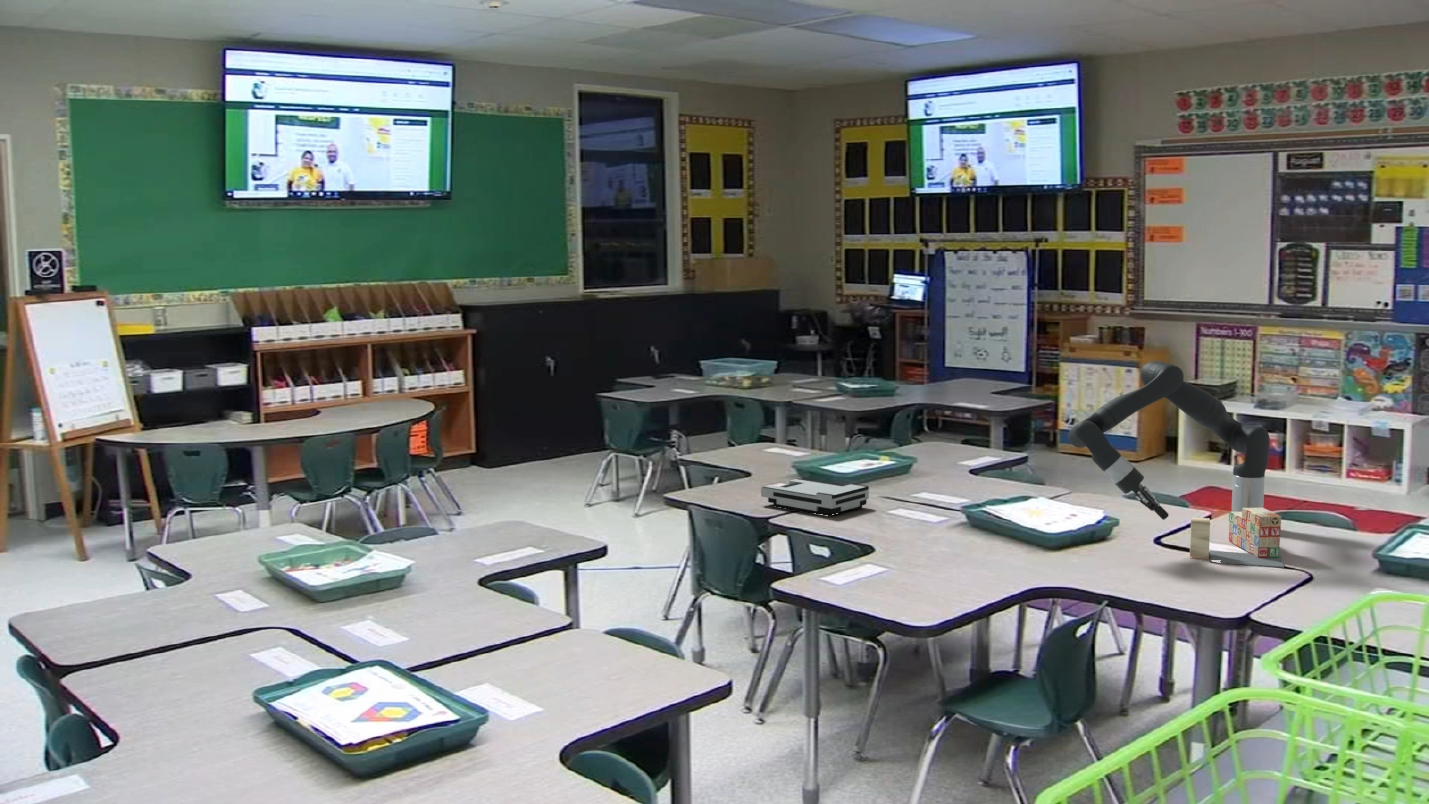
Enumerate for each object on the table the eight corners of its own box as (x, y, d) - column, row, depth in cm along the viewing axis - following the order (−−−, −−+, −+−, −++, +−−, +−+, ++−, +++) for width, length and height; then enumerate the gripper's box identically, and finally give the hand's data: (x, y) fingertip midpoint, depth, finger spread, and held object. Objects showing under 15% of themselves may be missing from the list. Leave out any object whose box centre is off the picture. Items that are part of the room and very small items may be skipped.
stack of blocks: (1227, 541, 369) (1229, 501, 368) (1248, 541, 369) (1250, 501, 368) (1258, 557, 348) (1259, 515, 346) (1279, 557, 348) (1281, 515, 346)
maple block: (1189, 553, 355) (1191, 517, 354) (1208, 555, 353) (1209, 518, 352) (1190, 558, 351) (1191, 521, 349) (1208, 559, 349) (1210, 522, 347)
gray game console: (798, 497, 446) (798, 475, 445) (868, 509, 424) (868, 486, 423) (761, 506, 431) (761, 483, 430) (832, 519, 409) (831, 495, 408)
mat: (1209, 551, 357) (1209, 550, 357) (1280, 556, 350) (1280, 555, 350) (1211, 562, 345) (1211, 561, 345) (1284, 568, 338) (1284, 566, 338)
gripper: (1132, 470, 349) (1176, 514, 347) (1133, 462, 362) (1176, 504, 359) (1112, 487, 352) (1156, 530, 349) (1114, 478, 364) (1156, 520, 361)
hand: (1166, 517), depth 354 cm, fingers closed
